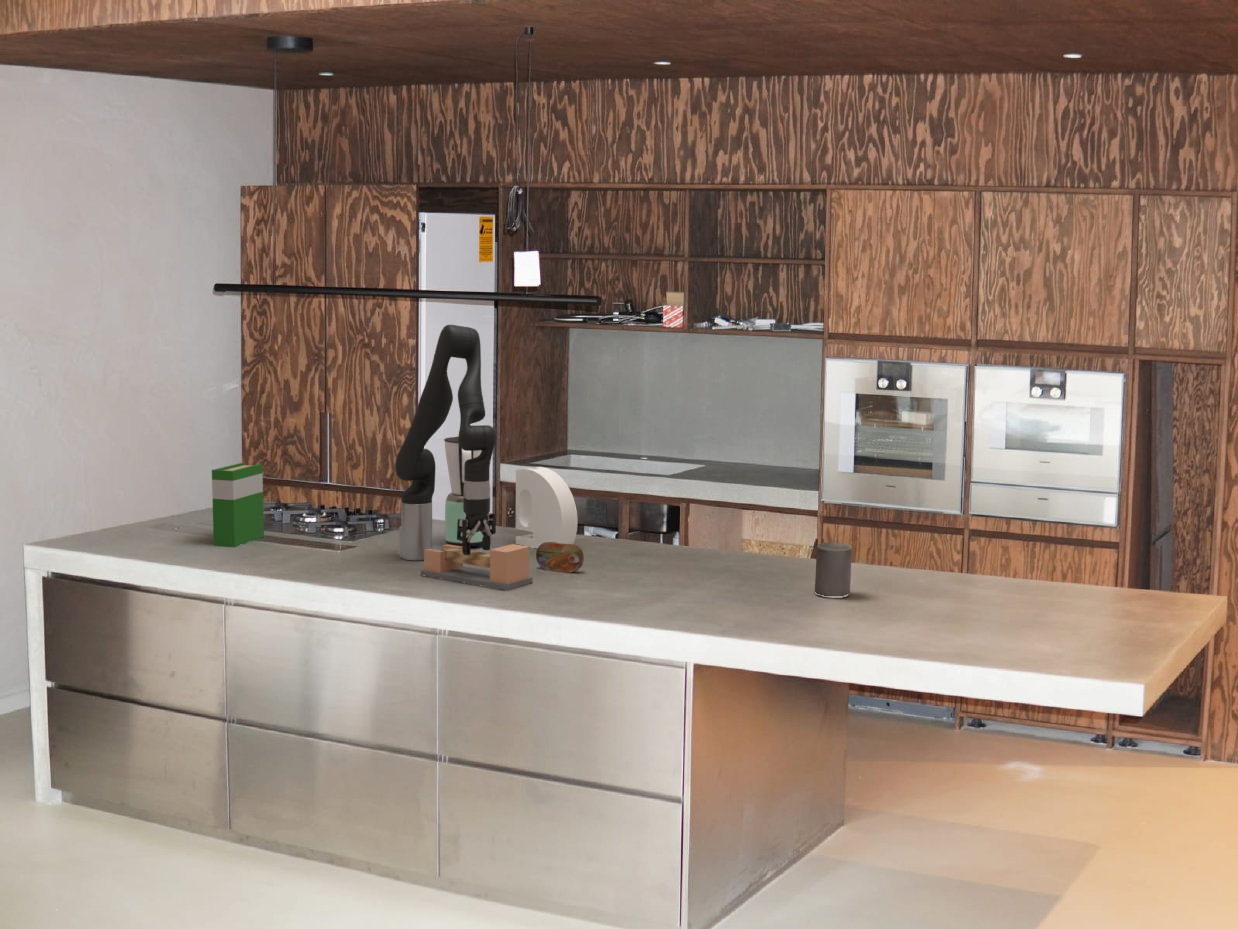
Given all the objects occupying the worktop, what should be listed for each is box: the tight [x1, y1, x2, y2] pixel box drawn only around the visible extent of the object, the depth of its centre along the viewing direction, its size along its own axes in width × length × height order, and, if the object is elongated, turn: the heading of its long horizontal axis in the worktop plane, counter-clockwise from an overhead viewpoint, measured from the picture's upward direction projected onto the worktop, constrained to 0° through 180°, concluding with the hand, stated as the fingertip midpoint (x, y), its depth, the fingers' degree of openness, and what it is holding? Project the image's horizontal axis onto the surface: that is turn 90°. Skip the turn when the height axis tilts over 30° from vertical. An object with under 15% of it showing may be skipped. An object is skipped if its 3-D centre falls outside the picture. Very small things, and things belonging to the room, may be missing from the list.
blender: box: [443, 436, 484, 549], centre depth 444 cm, size 19×13×35 cm
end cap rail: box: [420, 543, 533, 591], centre depth 399 cm, size 31×12×10 cm, turn 56°
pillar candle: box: [814, 541, 853, 596], centre depth 386 cm, size 10×10×15 cm
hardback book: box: [211, 462, 265, 548], centre depth 448 cm, size 18×7×24 cm, turn 164°
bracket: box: [515, 466, 578, 549], centre depth 444 cm, size 7×21×25 cm, turn 48°
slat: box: [440, 548, 490, 569], centre depth 399 cm, size 24×4×3 cm, turn 56°
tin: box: [535, 542, 585, 574], centre depth 413 cm, size 15×3×8 cm, turn 62°
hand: (476, 552), depth 399 cm, fingers open, 8 cm apart
